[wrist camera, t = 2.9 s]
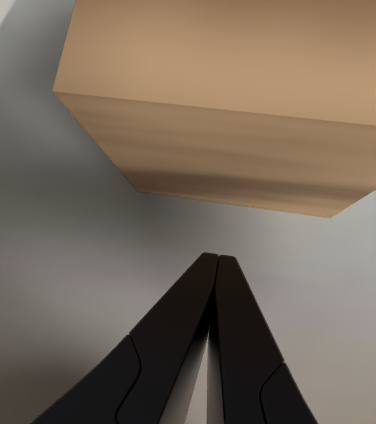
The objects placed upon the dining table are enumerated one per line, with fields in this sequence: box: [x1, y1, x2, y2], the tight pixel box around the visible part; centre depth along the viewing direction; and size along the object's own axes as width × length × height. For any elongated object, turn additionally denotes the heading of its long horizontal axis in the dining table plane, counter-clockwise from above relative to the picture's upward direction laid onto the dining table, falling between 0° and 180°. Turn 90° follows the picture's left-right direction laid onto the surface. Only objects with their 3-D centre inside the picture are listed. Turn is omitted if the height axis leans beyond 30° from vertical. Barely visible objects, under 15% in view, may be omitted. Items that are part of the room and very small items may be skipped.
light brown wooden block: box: [52, 0, 376, 218], centre depth 14 cm, size 5×10×10 cm, turn 81°
